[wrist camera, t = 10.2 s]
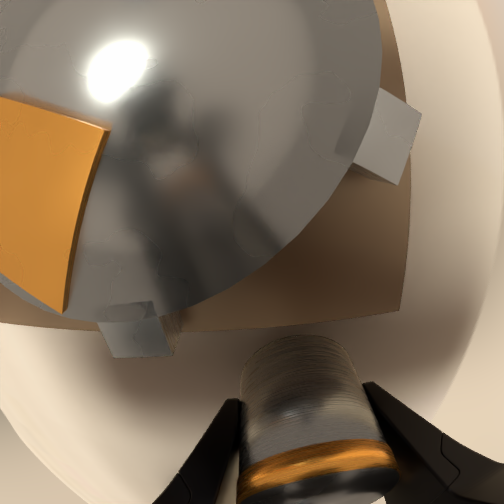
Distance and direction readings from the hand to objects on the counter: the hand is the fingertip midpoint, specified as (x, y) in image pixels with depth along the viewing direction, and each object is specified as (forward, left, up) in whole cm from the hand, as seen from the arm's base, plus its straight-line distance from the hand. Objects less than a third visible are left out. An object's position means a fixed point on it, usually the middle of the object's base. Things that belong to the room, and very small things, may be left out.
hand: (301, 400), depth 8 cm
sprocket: (+11, +5, -1) cm, 12 cm away
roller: (0, 0, -1) cm, 1 cm away
